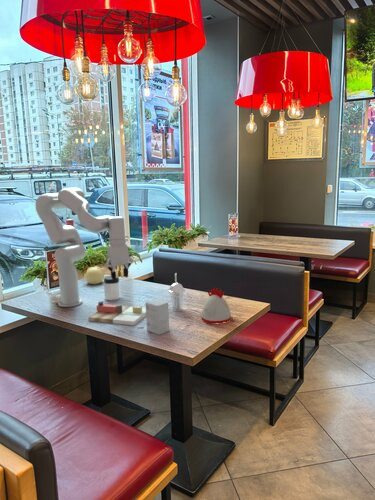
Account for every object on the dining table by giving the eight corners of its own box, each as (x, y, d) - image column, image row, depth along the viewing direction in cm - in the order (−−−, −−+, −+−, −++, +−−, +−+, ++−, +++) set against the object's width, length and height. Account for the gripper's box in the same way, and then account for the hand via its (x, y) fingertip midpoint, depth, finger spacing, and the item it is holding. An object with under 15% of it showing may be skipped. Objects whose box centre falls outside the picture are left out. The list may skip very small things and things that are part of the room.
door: (112, 323, 179) (112, 314, 179) (130, 310, 196) (129, 301, 195) (134, 325, 176) (133, 316, 175) (150, 311, 193) (149, 303, 192)
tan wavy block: (88, 320, 183) (87, 310, 182) (108, 308, 200) (107, 298, 199) (113, 323, 179) (112, 312, 178) (130, 310, 196) (130, 300, 195)
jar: (108, 301, 211) (106, 280, 209) (102, 297, 218) (100, 277, 216) (123, 298, 216) (121, 277, 214) (117, 294, 223) (115, 274, 220)
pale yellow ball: (107, 280, 255) (106, 264, 253) (100, 285, 243) (99, 268, 241) (90, 280, 256) (89, 264, 254) (83, 285, 245) (82, 268, 243)
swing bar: (118, 310, 190) (117, 302, 189) (115, 312, 187) (114, 304, 186) (100, 309, 193) (99, 301, 192) (96, 311, 190) (96, 303, 189)
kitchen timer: (222, 326, 172) (221, 294, 169) (195, 321, 179) (194, 289, 176) (235, 316, 183) (235, 286, 180) (210, 311, 190) (209, 282, 188)
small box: (169, 330, 169) (168, 302, 166) (159, 335, 164) (157, 306, 162) (157, 326, 174) (155, 298, 172) (146, 330, 169) (144, 302, 167)
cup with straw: (187, 307, 198) (186, 269, 194) (182, 313, 189) (181, 273, 185) (171, 306, 200) (170, 268, 196) (166, 312, 191) (164, 273, 188)
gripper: (129, 239, 196) (131, 273, 200) (97, 243, 186) (100, 279, 189) (136, 240, 190) (138, 276, 194) (104, 245, 180) (107, 282, 184)
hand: (119, 277), depth 192 cm, fingers open, 5 cm apart
